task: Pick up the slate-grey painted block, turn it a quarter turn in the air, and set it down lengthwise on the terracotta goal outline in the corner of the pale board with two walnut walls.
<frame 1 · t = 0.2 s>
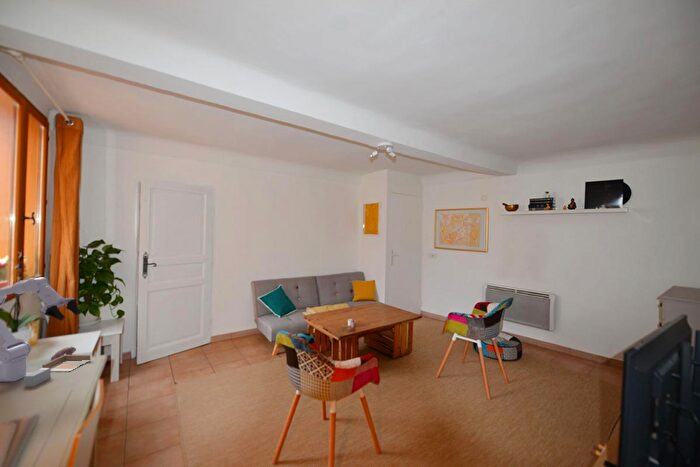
hand: (70, 316, 145), 31 cm above the table, tool tilted 45°, fingers open, 7 cm apart
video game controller: (63, 358, 167), on the table
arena: (67, 366, 158), on the table
slate block: (37, 382, 142), on the table
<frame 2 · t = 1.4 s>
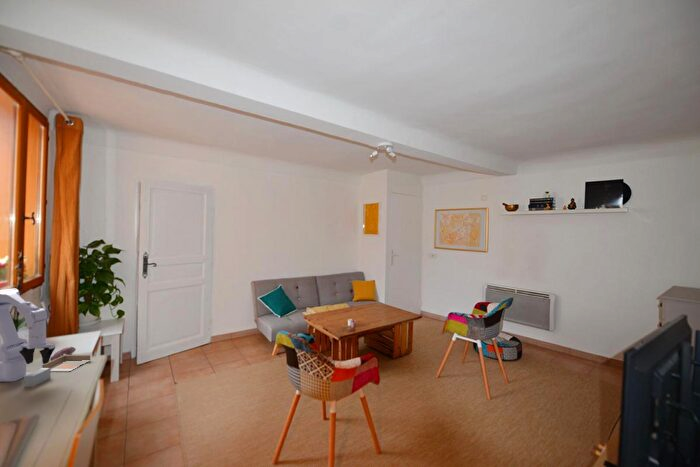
hand: (37, 363, 141), 9 cm above the table, tool pointing down, fingers open, 7 cm apart
nothing on the table moved.
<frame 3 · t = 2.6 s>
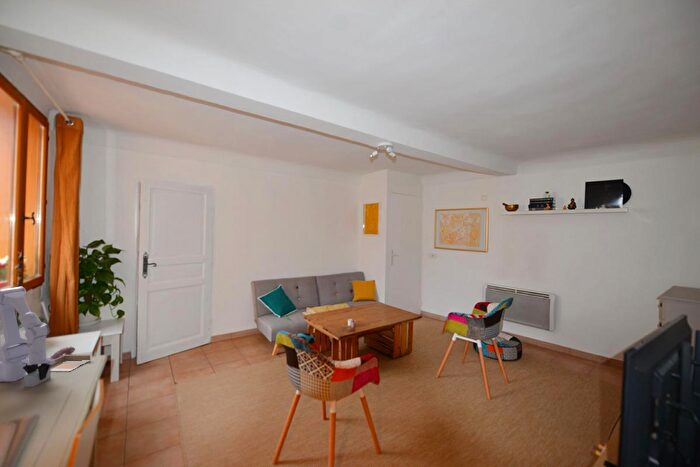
hand: (38, 379, 142), 1 cm above the table, tool pointing down, fingers closed on slate block, 4 cm apart
slate block: (37, 382, 142), on the table, touching gripper
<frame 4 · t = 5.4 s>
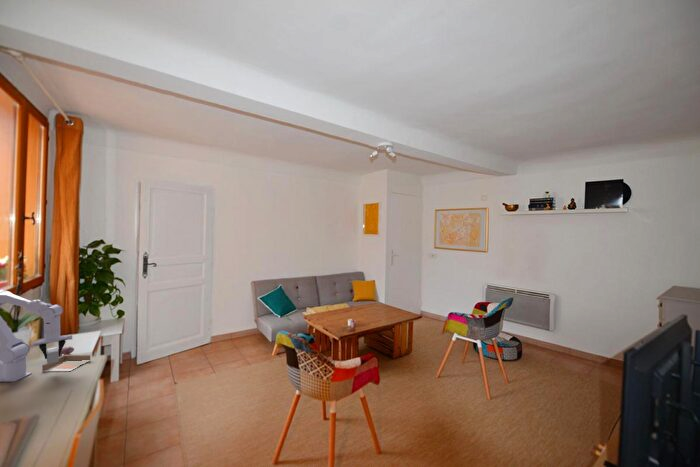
hand: (52, 356, 149), 9 cm above the table, tool pointing down, fingers closed on slate block, 4 cm apart
slate block: (52, 360, 149), point 7 cm above the table, touching gripper
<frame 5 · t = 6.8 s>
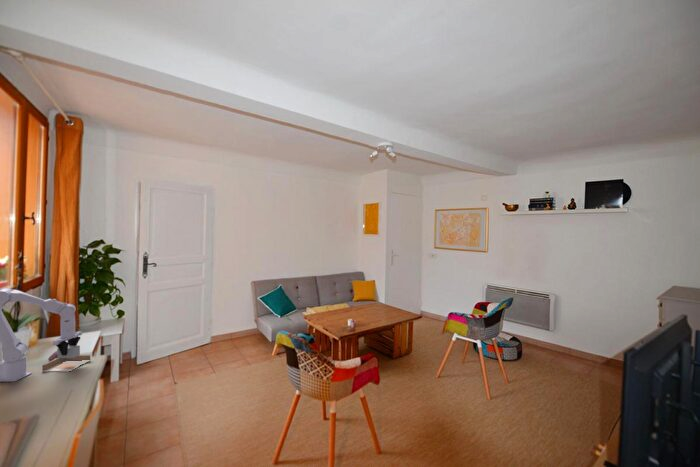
hand: (68, 353, 157), 7 cm above the table, tool pointing down, fingers closed on slate block, 4 cm apart
slate block: (68, 356, 157), point 6 cm above the table, touching gripper
when the fingers open (3 cm above the table, at t = 8.1 s): slate block stays where it is, resting on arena.
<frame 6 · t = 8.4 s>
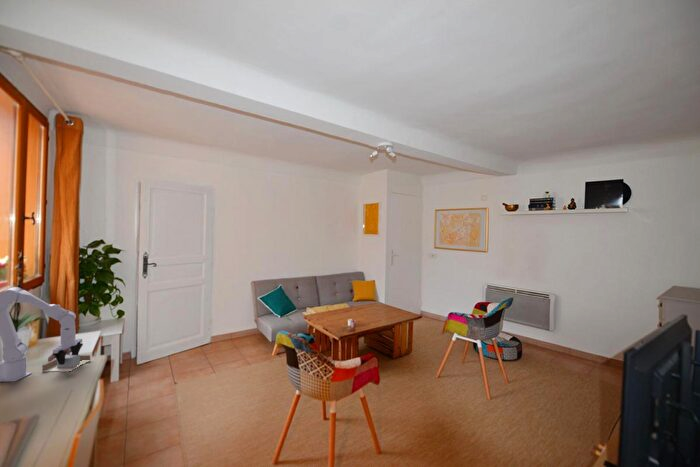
hand: (68, 361, 157), 3 cm above the table, tool pointing down, fingers open, 7 cm apart
slate block: (68, 366, 157), point 1 cm above the table, touching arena
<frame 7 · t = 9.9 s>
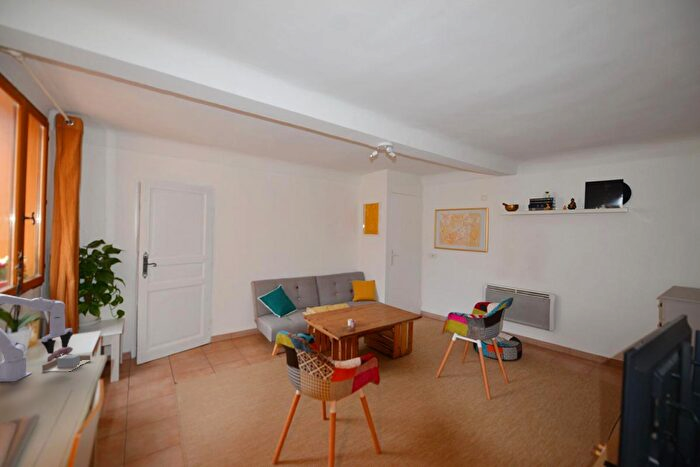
hand: (57, 350, 155), 9 cm above the table, tool pointing down, fingers open, 7 cm apart
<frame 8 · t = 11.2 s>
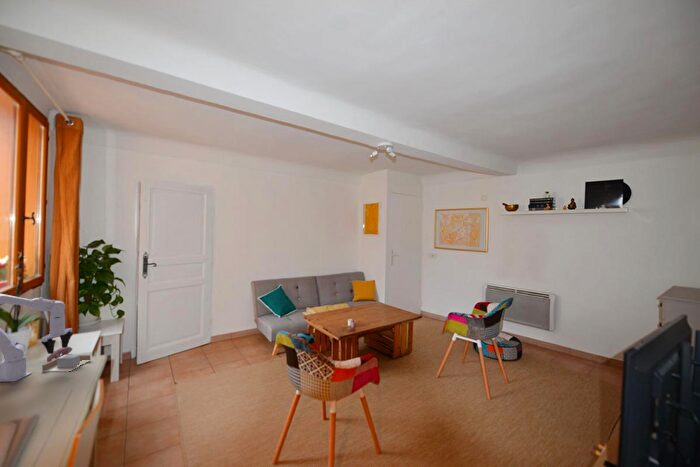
hand: (57, 350, 155), 9 cm above the table, tool pointing down, fingers open, 7 cm apart
at the end: slate block 0.2 cm from the target spot on the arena, point 0.6 cm above the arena's base; slate block tilted 0°; the gripper is holding nothing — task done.
